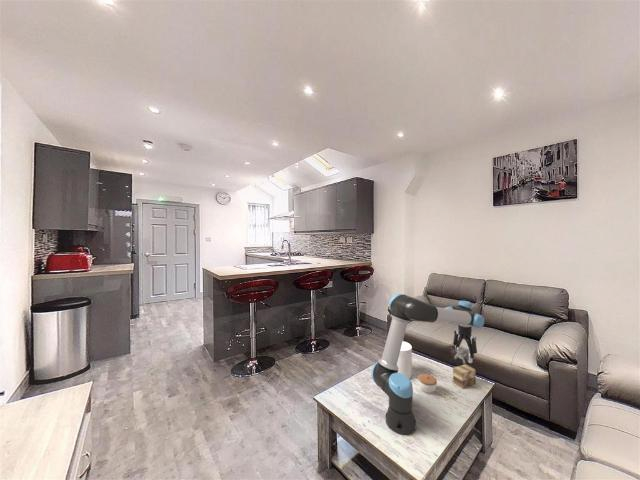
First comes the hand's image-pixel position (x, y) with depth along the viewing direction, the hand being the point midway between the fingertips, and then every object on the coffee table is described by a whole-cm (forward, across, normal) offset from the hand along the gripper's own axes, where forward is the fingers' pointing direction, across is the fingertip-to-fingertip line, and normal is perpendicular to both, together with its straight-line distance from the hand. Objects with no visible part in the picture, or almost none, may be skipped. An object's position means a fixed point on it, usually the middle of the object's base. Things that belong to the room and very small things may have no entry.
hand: (464, 359), depth 163 cm
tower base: (+16, 0, 0) cm, 16 cm away
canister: (+16, +27, +30) cm, 43 cm away
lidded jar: (+16, +5, +28) cm, 33 cm away
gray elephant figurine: (0, 0, 0) cm, 1 cm away
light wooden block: (+11, 0, 0) cm, 11 cm away
